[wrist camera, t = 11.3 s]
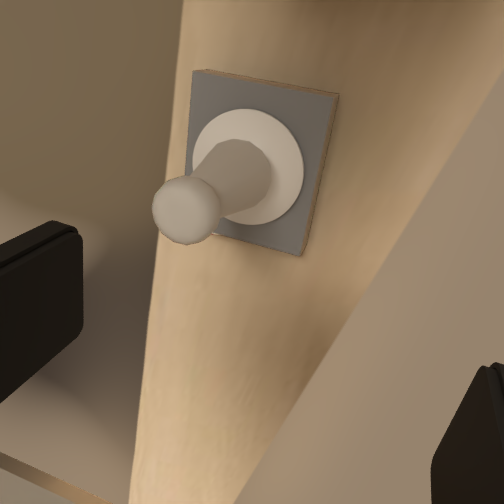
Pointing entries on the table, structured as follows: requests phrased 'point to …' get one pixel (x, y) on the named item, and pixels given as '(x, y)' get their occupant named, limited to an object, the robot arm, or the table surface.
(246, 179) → the salt shaker
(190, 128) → the scale
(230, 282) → the table surface
